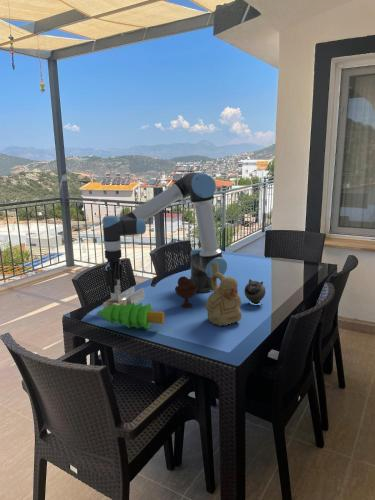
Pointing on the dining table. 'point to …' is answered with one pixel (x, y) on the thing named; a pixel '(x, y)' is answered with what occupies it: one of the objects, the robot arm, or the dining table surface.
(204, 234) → the robot arm
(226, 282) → the ceramic vessel
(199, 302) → the dining table surface
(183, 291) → the ice cream bowl
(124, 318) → the decorative tree
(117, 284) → the shiny silver metal piece
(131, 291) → the channel
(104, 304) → the socket
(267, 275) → the dining table surface
